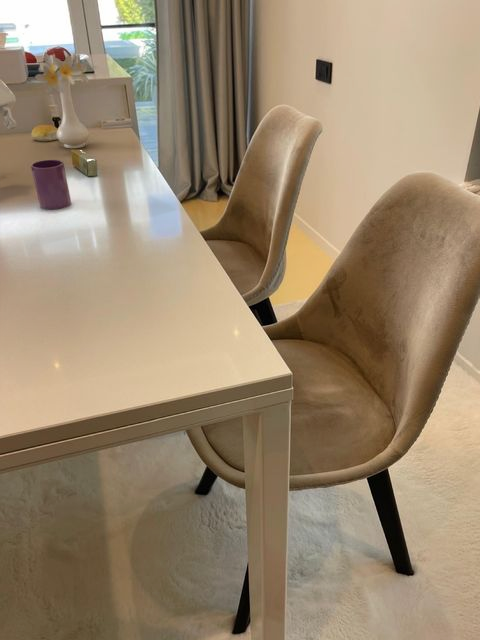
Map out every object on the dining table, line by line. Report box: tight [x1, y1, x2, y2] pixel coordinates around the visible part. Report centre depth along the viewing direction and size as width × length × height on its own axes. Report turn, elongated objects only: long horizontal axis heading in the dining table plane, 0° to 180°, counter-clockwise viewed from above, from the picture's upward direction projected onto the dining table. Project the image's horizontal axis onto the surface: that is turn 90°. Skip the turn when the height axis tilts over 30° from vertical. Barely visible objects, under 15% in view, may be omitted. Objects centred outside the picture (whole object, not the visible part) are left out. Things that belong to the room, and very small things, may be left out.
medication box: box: [70, 149, 98, 177], centre depth 146 cm, size 12×3×4 cm, turn 35°
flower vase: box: [34, 50, 90, 150], centre depth 161 cm, size 13×18×25 cm
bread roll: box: [31, 124, 59, 142], centre depth 175 cm, size 8×9×4 cm
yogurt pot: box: [30, 159, 72, 210], centre depth 124 cm, size 7×7×9 cm
